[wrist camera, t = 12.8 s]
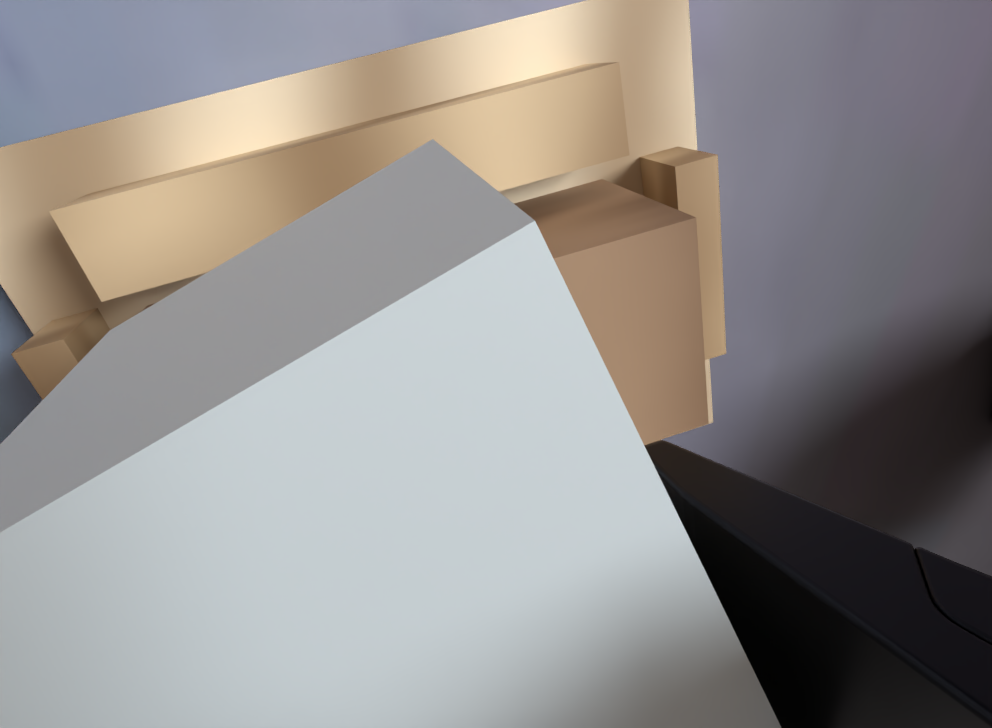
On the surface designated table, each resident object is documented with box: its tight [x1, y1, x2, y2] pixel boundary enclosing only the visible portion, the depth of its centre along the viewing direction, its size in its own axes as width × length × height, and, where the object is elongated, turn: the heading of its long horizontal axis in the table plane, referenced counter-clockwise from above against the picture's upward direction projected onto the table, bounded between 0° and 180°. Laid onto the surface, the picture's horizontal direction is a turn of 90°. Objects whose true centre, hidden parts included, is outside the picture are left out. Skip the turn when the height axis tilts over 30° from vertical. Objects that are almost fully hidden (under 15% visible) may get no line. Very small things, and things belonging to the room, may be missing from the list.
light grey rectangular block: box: [0, 139, 781, 728], centre depth 7 cm, size 9×4×4 cm, turn 28°
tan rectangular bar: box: [144, 179, 709, 444], centre depth 13 cm, size 11×4×4 cm, turn 103°
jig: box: [0, 0, 726, 445], centre depth 15 cm, size 16×12×3 cm
